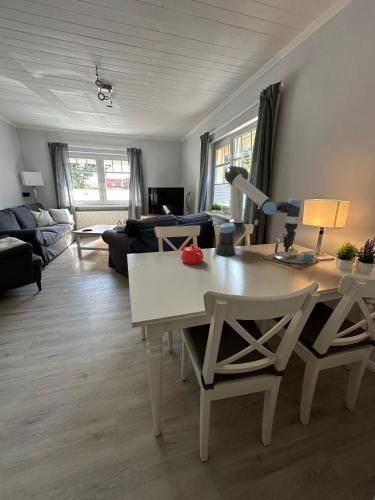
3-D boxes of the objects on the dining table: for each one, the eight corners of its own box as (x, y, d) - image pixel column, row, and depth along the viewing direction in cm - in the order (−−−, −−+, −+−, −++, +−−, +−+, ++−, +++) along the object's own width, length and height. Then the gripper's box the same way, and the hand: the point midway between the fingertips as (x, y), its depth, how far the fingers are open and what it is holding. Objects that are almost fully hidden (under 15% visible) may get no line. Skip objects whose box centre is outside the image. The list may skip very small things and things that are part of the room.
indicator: (273, 252, 168) (275, 238, 165) (275, 252, 169) (277, 238, 166) (276, 253, 166) (278, 239, 163) (277, 252, 167) (280, 238, 164)
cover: (280, 256, 154) (282, 246, 152) (287, 254, 159) (288, 245, 157) (293, 259, 147) (294, 249, 145) (299, 257, 152) (301, 247, 150)
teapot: (211, 265, 141) (212, 247, 138) (191, 269, 133) (192, 250, 130) (191, 254, 161) (191, 239, 158) (173, 257, 154) (173, 241, 150)
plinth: (261, 258, 156) (262, 257, 156) (281, 252, 173) (281, 251, 173) (300, 270, 135) (301, 268, 135) (318, 261, 152) (318, 260, 152)
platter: (266, 257, 156) (267, 248, 154) (282, 251, 170) (283, 243, 168) (304, 268, 136) (306, 258, 134) (319, 260, 150) (321, 252, 148)
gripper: (292, 224, 135) (286, 259, 142) (301, 222, 143) (296, 256, 150) (281, 222, 141) (276, 256, 148) (290, 221, 149) (285, 253, 155)
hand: (286, 256), depth 149 cm, fingers closed
